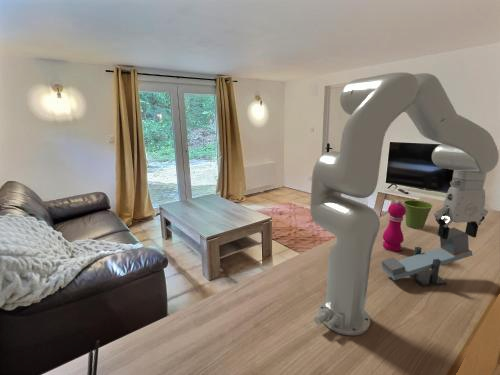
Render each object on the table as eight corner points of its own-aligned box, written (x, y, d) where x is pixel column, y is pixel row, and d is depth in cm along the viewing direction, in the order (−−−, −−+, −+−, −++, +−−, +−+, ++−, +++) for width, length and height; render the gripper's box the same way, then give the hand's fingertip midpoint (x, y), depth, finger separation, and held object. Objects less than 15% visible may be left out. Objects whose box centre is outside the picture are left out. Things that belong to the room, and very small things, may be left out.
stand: (422, 287, 81) (427, 262, 79) (401, 269, 90) (405, 247, 88) (446, 285, 82) (451, 260, 80) (423, 268, 91) (427, 245, 89)
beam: (394, 280, 81) (392, 270, 80) (382, 269, 87) (381, 260, 86) (472, 255, 82) (471, 245, 81) (455, 246, 88) (455, 237, 87)
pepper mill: (404, 253, 101) (412, 203, 96) (384, 251, 103) (390, 202, 98) (398, 244, 108) (405, 197, 103) (379, 242, 110) (385, 196, 104)
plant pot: (401, 219, 134) (404, 198, 131) (429, 224, 127) (433, 202, 124) (398, 227, 124) (401, 204, 122) (428, 233, 118) (432, 209, 115)
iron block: (453, 255, 82) (452, 238, 80) (440, 247, 87) (439, 231, 85) (468, 250, 82) (468, 233, 81) (454, 243, 87) (453, 227, 85)
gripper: (451, 188, 75) (440, 243, 79) (505, 186, 76) (492, 240, 81) (430, 182, 82) (422, 233, 86) (481, 180, 84) (470, 230, 88)
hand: (456, 236), depth 84 cm, fingers open, 9 cm apart
